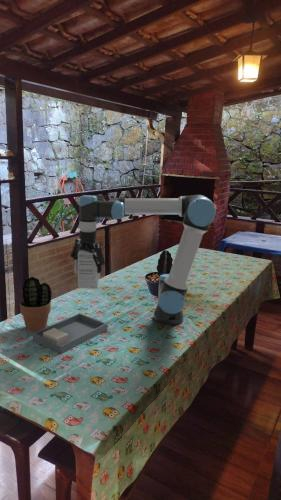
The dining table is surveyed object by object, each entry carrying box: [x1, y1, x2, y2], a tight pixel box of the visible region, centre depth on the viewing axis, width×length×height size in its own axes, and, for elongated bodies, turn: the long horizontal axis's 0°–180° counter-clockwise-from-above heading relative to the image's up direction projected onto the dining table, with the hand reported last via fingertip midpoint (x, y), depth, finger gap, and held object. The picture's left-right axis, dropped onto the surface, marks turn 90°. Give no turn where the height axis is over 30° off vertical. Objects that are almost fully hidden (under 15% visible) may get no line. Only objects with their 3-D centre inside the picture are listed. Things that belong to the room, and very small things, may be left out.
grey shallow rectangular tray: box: [32, 312, 108, 354], centre depth 163 cm, size 18×28×4 cm, turn 144°
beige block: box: [43, 328, 68, 345], centre depth 156 cm, size 9×6×4 cm, turn 54°
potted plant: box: [19, 276, 53, 332], centre depth 167 cm, size 14×14×25 cm
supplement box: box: [77, 250, 100, 290], centre depth 168 cm, size 10×9×17 cm
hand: (87, 276), depth 168 cm, fingers closed on supplement box, 13 cm apart
